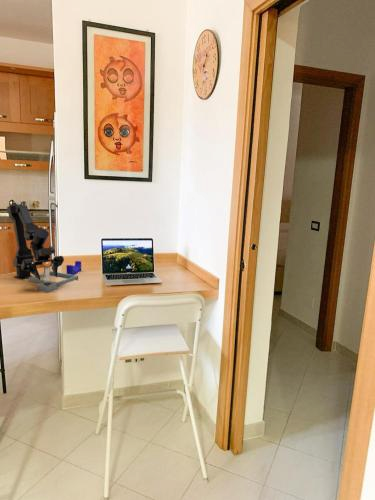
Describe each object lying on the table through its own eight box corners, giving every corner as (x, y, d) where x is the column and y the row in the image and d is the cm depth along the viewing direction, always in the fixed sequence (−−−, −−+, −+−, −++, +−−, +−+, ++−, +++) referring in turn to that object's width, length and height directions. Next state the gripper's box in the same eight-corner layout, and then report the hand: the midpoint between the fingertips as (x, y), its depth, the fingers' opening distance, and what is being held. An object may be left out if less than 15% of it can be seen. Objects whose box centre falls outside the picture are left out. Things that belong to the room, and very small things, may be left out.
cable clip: (74, 270, 220) (74, 260, 219) (81, 271, 220) (81, 261, 218) (64, 275, 209) (63, 265, 207) (71, 276, 208) (71, 265, 207)
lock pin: (41, 290, 176) (40, 262, 174) (47, 288, 180) (46, 260, 177) (47, 291, 175) (47, 263, 172) (53, 289, 179) (53, 261, 176)
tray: (28, 283, 191) (28, 277, 190) (51, 276, 205) (50, 271, 205) (57, 289, 184) (57, 283, 184) (78, 281, 199) (78, 275, 198)
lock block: (37, 293, 176) (37, 284, 175) (46, 290, 182) (46, 281, 181) (48, 295, 174) (47, 286, 173) (56, 292, 180) (56, 283, 179)
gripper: (22, 242, 170) (31, 271, 164) (62, 239, 182) (72, 266, 176) (17, 256, 177) (26, 284, 171) (56, 252, 189) (65, 278, 183)
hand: (48, 278), depth 175 cm, fingers open, 8 cm apart
